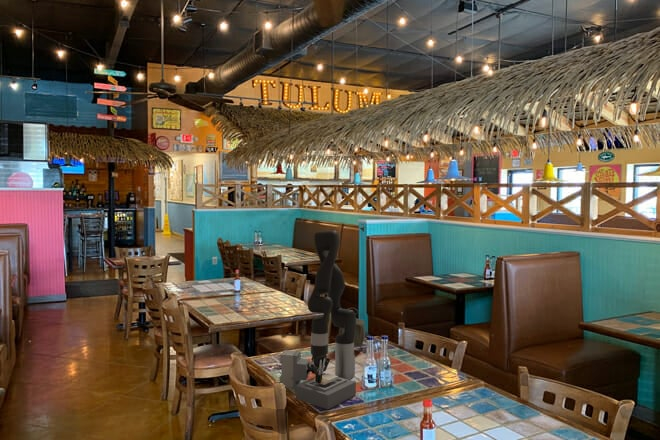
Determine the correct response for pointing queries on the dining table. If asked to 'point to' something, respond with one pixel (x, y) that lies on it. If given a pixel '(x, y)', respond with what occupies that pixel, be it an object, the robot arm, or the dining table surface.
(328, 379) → the breaker rocker
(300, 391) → the box
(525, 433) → the dining table surface
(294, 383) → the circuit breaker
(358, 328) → the tabletop clock
